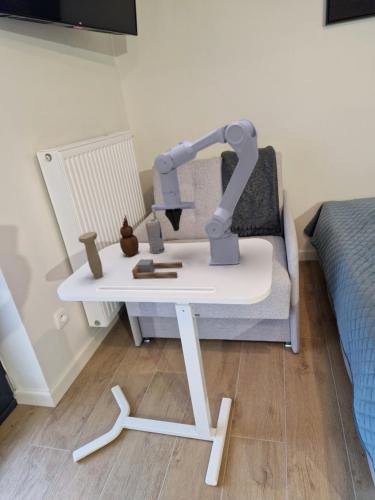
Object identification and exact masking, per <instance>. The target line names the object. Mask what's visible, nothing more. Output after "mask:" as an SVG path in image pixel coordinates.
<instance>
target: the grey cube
mask: <svg viewBox="0 0 375 500" xmlns="http://www.w3.org/2000/svg"><path fill="white" fill-rule="evenodd" d="M140 260H141V259H140ZM140 260H139V261H140ZM139 261H138V262H139ZM138 262H137V263H138ZM154 263H155V262H154V259H153V258H150V259H147V258H146V259H144V260H141V261H140V262H139V263H138V265H137V264H136V265H137V266H138V271H139V273H149V272H155V270H156V268H155V269H154Z"/></svg>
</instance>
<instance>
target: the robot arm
mask: <svg viewBox="0 0 375 500" xmlns="http://www.w3.org/2000/svg"><path fill="white" fill-rule="evenodd" d="M217 143H220V144H228V145H229V146H230V147H231V148H232V150H233V151H234V152H235V154H236V156H237V158H238V162H237V164H236V166H235V168H234V170H233V172H232V175H231V177H230V179H229V181H228V184H227V187H226V189H225V190H224V193H223V194H222V197H221V200H220V202H219V203H218V206H217V208H216V210H215V211H214V214H212V217H211V219H209V220H208V221H207V222H206V223H205V226H204V231H205V233H206V235H207V236H208V240H209V247H210V259H209V262H208V265H209V266H212V265H213V266H217V265H221V266H222V265H238V264H239V261H240V255H241V250H240V243H239V235H238V233H232V232H231V228H230V227H231V226H232V224H233V215H234V212H235V211H234V210H235V209H236V206H237V204H238V202H239V200H240V197H241V196H242V194H243V192H244V189H245V187H246V185H247V184H248V181H249V178H250V177H251V175H252V173H253V171H254V168H255V166H256V164H257V162H258V161H259V160H258V159H259V156H260V155H259V147H258V131H257V129H256V127H255V125H254V123H253V122H251V120H249V119H244V118H243V119H240V120H238V121H233V122H231V123H228V124H225V125H223V126H219V127H217V128H215V129H213V130H212V131H210V132H208V133H207V134H205V135H203V136H201V137H200V138H198V139H196V140H195V141H192V142H191V141H189V140H185V141H184V140H181V141H180V142H178V145H176V146H174V147H173V148H168V149H166V152H164V153H159V154H158V155H157V156H156V157H155V159H154V162H153V163H154V164H153V166H154V168H155V170H156V171H157V172H158V175H159V180H160V181H159V182H160V188H161V193H162V200H163V203H158V204H152V205H151V212H153V213H154V212H155V213H156V212H160V211H164V216H166V218H167V220H168V221H169V222H170V224H171V226H172V229H173V232H179V230H180V223H181V217H182V214H183V210H187V209H188V210H189V209H190V210H195V208H196V203H195V201H182V199H181V192H180V191H181V190H180V183H179V177H178V168H179V167H182V166H183V165H185V164H187V163H189V162H191V161H193V160H195V159H196V158H197V154H198V153H199V152H200V151H203V150H205V149H206V148H209V147H211V146H213V145H215V144H217Z"/></svg>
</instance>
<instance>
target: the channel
mask: <svg viewBox="0 0 375 500" xmlns="http://www.w3.org/2000/svg"><path fill="white" fill-rule="evenodd" d="M141 260H145V259H139V261H138V262H137V264H135V266H134V267H133V269H131V272H132V277H133V280H141V279H146V280H147V279H177V278H178V272H177V271H162V272H161V271H154V272H149V273H139V271H138V266H137V265H138V263H139V262H140V261H141ZM153 263H154V269H155V270H156V269H181V268H183V262H182V261H177V262H176V261H175V262H171V261H170V262H153Z"/></svg>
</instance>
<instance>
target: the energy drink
mask: <svg viewBox="0 0 375 500" xmlns="http://www.w3.org/2000/svg"><path fill="white" fill-rule="evenodd" d="M145 230H146V234H147V235H146V236H147V240H148V245H149V249H150V253H151V254H160V253H162V252H164V251H165V245H164V239H163V231H162V227H161V222H160V220H159V218H152V219H148V220H146V221H145Z"/></svg>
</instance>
